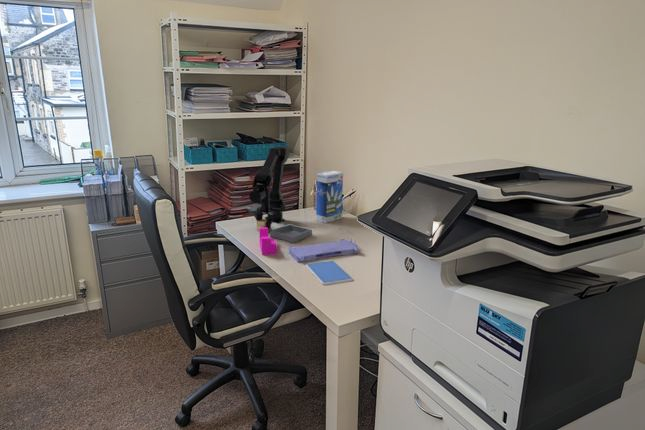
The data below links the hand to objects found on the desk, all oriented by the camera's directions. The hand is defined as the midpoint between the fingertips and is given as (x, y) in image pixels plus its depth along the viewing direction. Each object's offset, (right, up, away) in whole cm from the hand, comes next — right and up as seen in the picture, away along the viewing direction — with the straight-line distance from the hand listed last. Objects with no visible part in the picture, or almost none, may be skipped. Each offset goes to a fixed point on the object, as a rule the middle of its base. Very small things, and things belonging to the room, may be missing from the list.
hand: (263, 228), depth 214 cm
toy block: (+5, -9, -23) cm, 25 cm away
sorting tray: (+14, -4, -7) cm, 16 cm away
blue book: (+31, -17, -46) cm, 58 cm away
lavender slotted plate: (+30, -10, -26) cm, 41 cm away
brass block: (0, -1, 0) cm, 1 cm away
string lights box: (+32, +4, +21) cm, 39 cm away
